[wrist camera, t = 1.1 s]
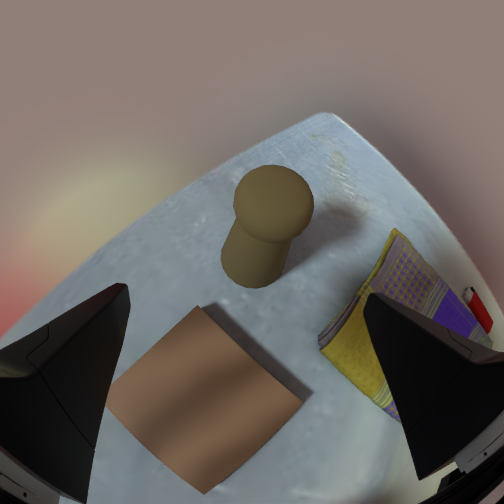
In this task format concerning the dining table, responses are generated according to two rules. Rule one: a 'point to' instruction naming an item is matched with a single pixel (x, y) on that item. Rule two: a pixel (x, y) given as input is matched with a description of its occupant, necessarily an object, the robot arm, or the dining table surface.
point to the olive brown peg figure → (265, 224)
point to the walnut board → (200, 402)
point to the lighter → (478, 309)
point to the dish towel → (405, 292)
